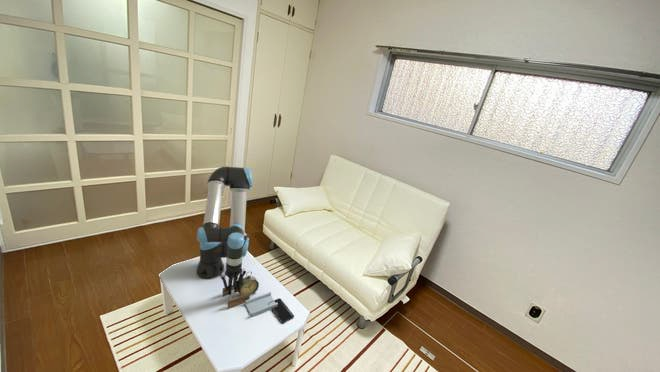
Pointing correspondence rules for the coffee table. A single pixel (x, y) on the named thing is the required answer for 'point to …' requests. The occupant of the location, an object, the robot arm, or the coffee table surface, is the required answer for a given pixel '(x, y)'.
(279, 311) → the phone
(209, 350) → the coffee table surface
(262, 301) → the cradle
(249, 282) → the alarm clock
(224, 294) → the channel
